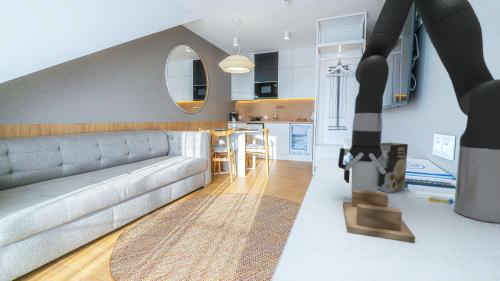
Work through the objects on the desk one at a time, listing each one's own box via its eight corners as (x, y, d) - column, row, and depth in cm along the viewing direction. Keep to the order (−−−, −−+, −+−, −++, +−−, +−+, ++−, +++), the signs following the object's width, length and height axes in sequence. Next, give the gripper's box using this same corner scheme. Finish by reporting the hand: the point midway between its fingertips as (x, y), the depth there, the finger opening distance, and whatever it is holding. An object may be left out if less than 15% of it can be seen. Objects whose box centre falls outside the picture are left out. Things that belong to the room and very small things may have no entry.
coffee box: (391, 193, 72) (394, 145, 71) (372, 188, 77) (374, 143, 76) (405, 189, 77) (408, 143, 75) (386, 185, 82) (388, 142, 81)
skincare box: (378, 202, 65) (380, 161, 63) (371, 205, 62) (373, 163, 61) (356, 196, 69) (358, 158, 68) (349, 199, 66) (351, 160, 65)
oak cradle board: (392, 211, 58) (393, 192, 57) (414, 242, 43) (416, 216, 42) (342, 205, 62) (343, 187, 61) (347, 232, 47) (348, 208, 46)
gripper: (391, 129, 65) (387, 183, 66) (339, 128, 70) (336, 178, 71) (399, 130, 58) (394, 190, 59) (340, 129, 63) (337, 184, 64)
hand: (363, 184), depth 65 cm, fingers open, 8 cm apart
